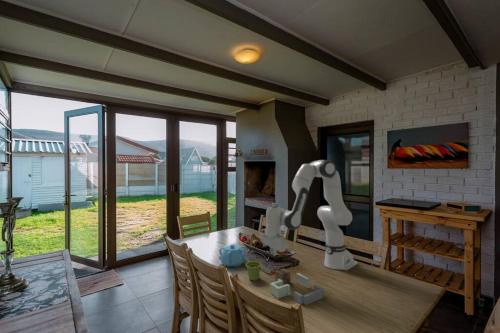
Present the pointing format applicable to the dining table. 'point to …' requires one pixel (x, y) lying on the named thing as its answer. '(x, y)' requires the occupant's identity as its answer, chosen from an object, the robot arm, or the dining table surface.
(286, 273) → the block
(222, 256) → the decorative pot
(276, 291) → the pale grey notched piece
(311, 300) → the dock
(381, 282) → the dining table surface
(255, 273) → the plant pot
